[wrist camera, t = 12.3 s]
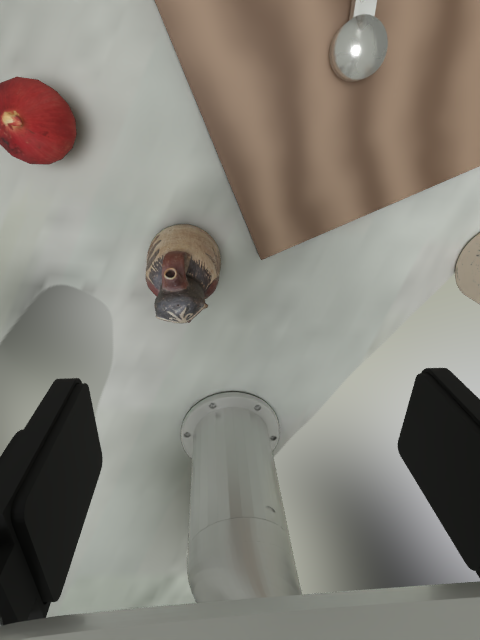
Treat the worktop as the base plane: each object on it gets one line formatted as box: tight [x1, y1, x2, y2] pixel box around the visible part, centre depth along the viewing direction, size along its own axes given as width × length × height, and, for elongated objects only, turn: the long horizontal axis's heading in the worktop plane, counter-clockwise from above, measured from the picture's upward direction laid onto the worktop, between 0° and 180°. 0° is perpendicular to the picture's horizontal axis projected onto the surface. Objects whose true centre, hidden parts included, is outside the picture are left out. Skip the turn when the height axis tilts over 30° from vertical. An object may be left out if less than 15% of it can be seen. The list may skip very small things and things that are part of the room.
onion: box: [0, 77, 76, 164], centre depth 28 cm, size 6×6×8 cm
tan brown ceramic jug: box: [146, 224, 221, 323], centre depth 32 cm, size 7×7×12 cm
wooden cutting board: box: [155, 0, 480, 260], centre depth 30 cm, size 26×26×1 cm
